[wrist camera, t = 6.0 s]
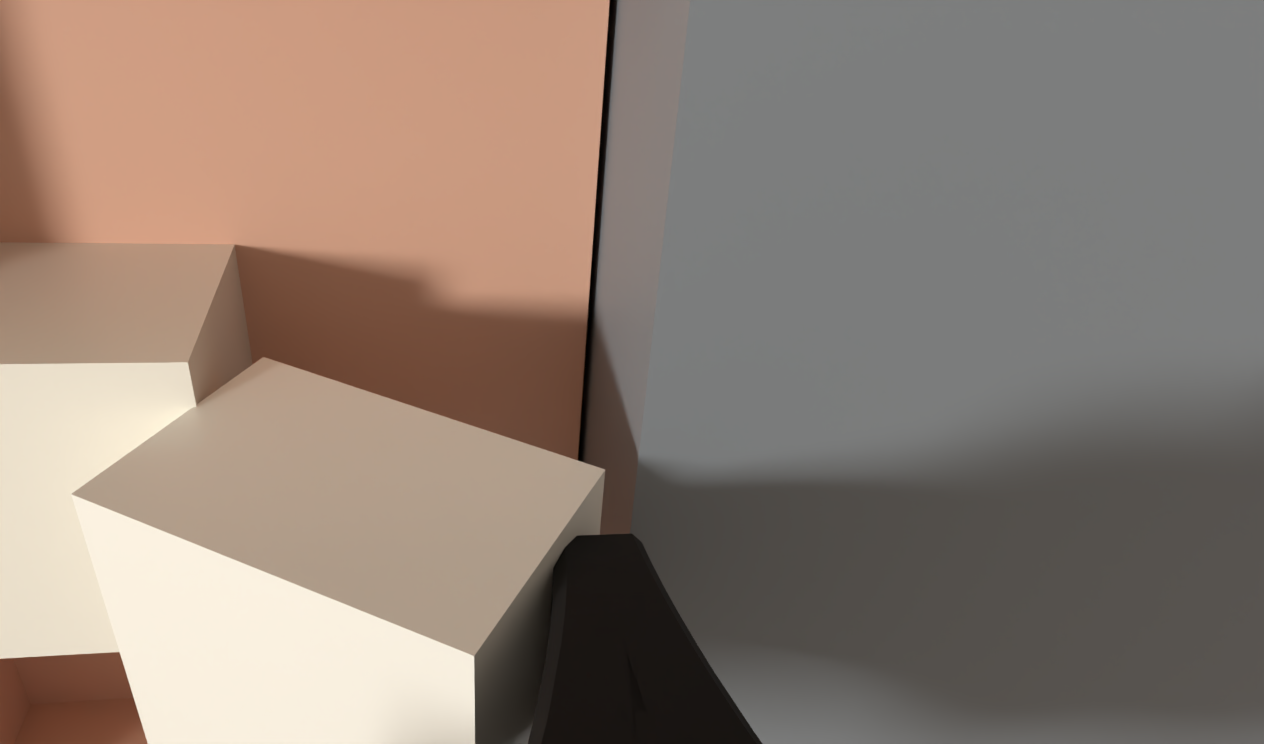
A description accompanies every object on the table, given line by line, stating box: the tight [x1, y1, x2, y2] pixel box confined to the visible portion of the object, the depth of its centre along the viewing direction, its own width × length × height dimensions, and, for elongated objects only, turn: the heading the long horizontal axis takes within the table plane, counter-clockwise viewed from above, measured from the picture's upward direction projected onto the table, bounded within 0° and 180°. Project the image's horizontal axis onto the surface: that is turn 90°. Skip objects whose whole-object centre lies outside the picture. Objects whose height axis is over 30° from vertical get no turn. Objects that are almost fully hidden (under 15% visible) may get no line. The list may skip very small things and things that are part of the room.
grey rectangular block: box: [578, 0, 1264, 744], centre depth 13 cm, size 11×14×4 cm
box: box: [0, 0, 610, 744], centre depth 12 cm, size 9×14×3 cm, turn 175°
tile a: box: [71, 357, 605, 744], centre depth 10 cm, size 4×4×2 cm
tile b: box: [0, 242, 253, 659], centre depth 11 cm, size 4×4×2 cm
